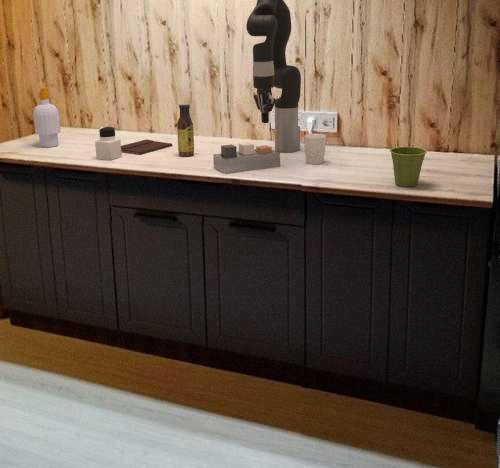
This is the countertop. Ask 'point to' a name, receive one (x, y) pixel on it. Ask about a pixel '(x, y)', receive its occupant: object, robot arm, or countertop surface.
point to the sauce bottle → (185, 132)
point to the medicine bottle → (108, 144)
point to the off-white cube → (246, 148)
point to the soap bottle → (46, 121)
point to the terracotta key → (263, 149)
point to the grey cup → (315, 148)
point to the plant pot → (407, 164)
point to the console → (246, 161)
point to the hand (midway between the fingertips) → (265, 122)
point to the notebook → (144, 147)
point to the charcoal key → (228, 150)
